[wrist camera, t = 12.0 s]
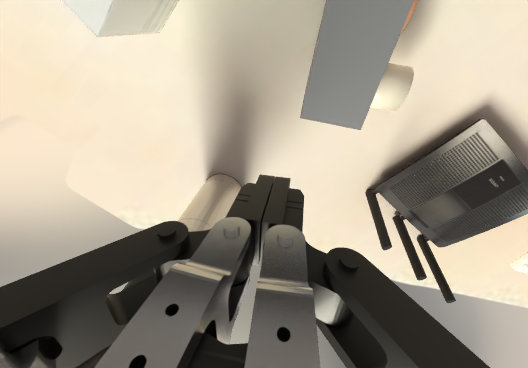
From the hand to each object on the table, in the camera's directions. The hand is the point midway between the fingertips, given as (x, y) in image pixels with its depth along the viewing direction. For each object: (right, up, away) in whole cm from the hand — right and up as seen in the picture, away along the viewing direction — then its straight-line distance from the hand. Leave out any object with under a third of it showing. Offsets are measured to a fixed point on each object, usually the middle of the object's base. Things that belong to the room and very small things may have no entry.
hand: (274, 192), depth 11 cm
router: (+33, 0, +31) cm, 45 cm away
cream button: (+14, +14, +18) cm, 27 cm away
